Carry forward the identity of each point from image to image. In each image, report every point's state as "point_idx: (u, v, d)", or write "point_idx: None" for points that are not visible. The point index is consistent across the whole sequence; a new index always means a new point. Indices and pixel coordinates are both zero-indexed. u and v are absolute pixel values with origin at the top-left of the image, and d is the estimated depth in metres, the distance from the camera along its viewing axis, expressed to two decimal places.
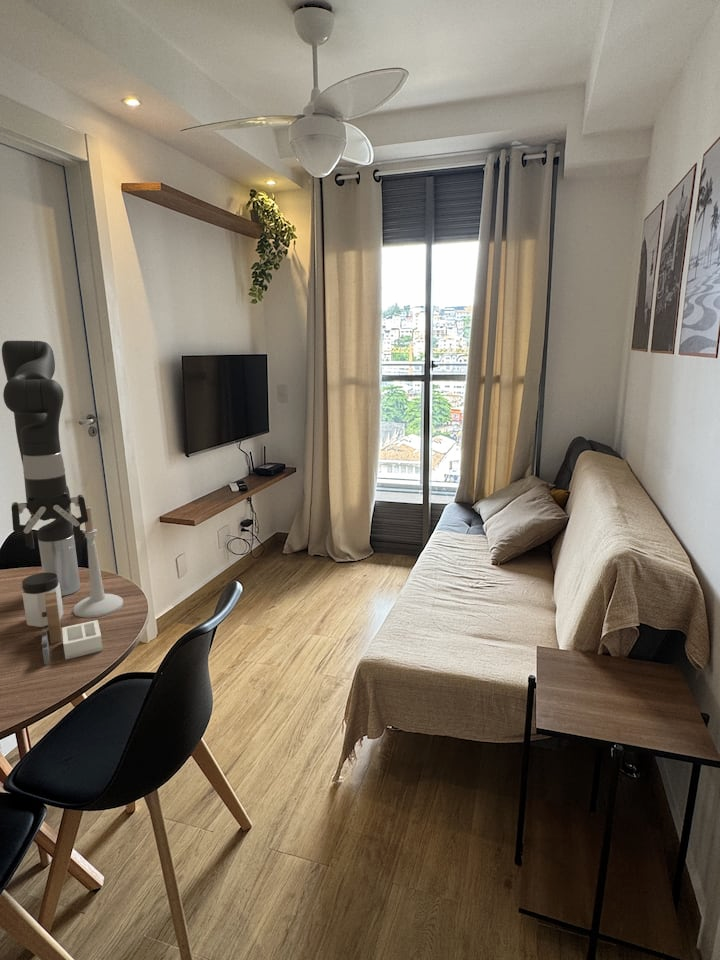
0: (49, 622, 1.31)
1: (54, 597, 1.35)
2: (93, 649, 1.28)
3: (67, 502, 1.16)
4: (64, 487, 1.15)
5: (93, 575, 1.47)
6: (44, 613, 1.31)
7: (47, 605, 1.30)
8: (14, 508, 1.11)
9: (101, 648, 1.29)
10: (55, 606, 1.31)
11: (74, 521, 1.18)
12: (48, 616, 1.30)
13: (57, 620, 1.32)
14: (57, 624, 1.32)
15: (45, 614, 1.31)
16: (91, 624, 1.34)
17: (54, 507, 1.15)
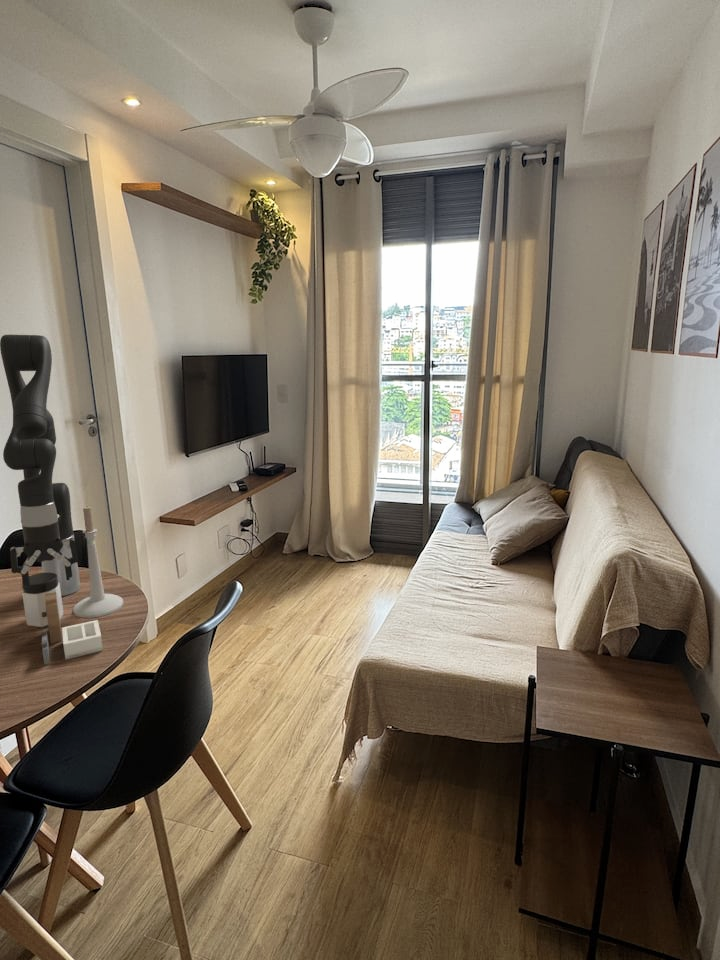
0: (49, 622, 1.31)
1: (54, 597, 1.35)
2: (93, 649, 1.28)
3: (59, 545, 1.31)
4: (57, 532, 1.30)
5: (93, 575, 1.47)
6: (44, 613, 1.31)
7: (47, 605, 1.30)
8: (12, 553, 1.26)
9: (101, 648, 1.29)
10: (55, 606, 1.31)
11: (66, 562, 1.32)
12: (48, 616, 1.30)
13: (57, 620, 1.32)
14: (57, 624, 1.32)
15: (45, 614, 1.31)
16: (91, 624, 1.34)
17: (48, 550, 1.29)
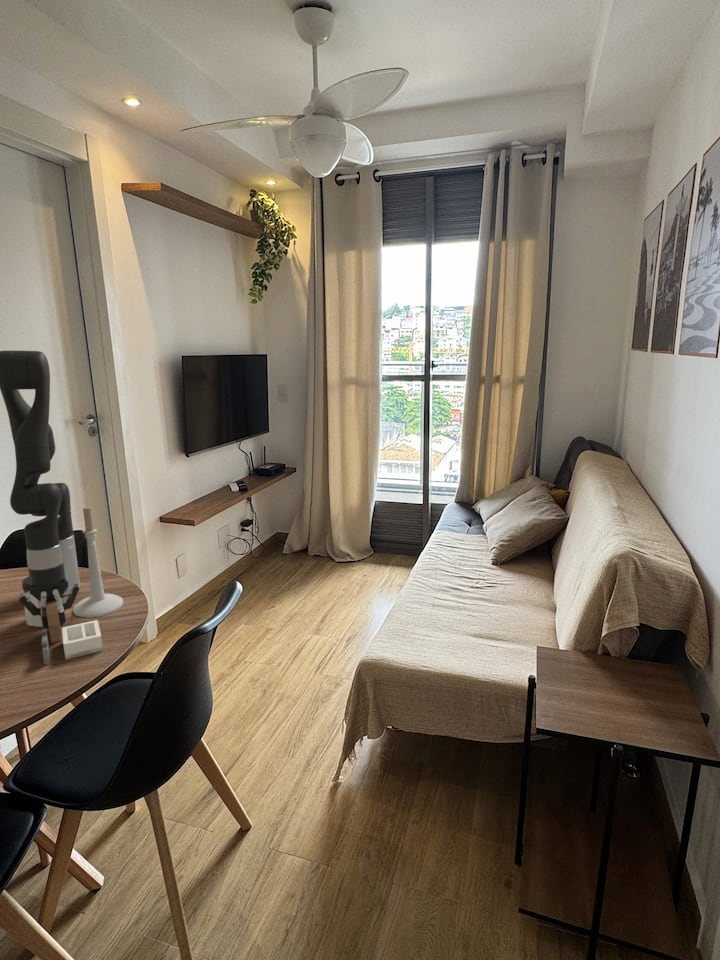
0: (49, 622, 1.31)
1: None
2: (93, 649, 1.28)
3: (64, 587, 1.34)
4: (62, 574, 1.32)
5: (93, 575, 1.47)
6: (44, 613, 1.31)
7: (47, 605, 1.30)
8: (22, 600, 1.29)
9: (101, 648, 1.29)
10: (55, 606, 1.31)
11: (59, 608, 1.34)
12: (48, 616, 1.30)
13: (57, 620, 1.32)
14: (57, 624, 1.32)
15: (45, 614, 1.31)
16: (91, 624, 1.34)
17: (54, 591, 1.32)
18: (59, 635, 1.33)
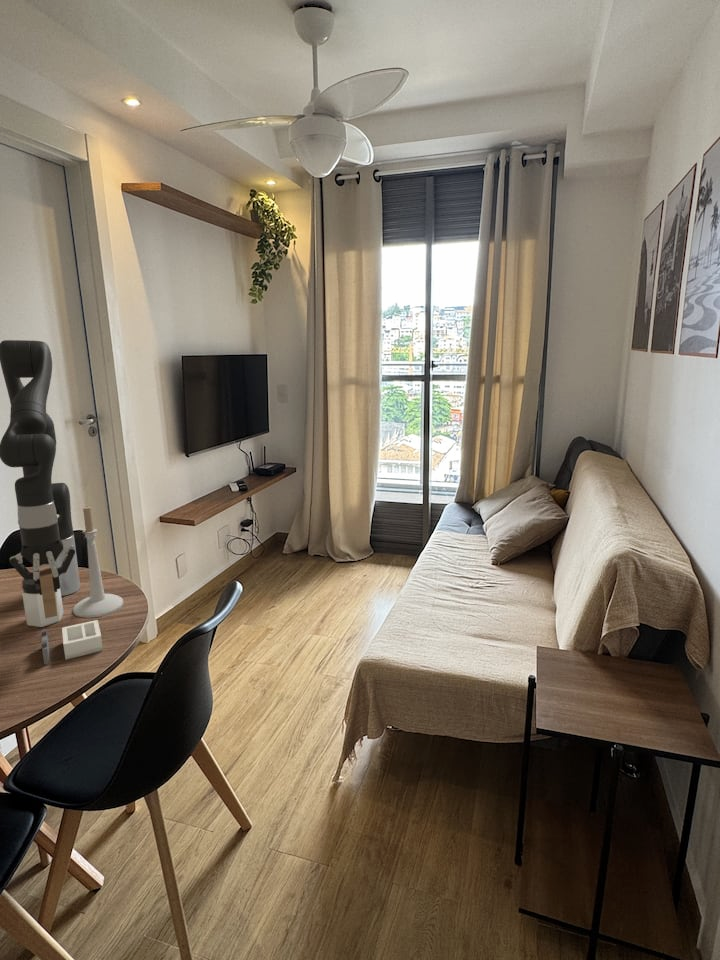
0: (43, 595, 1.20)
1: (49, 568, 1.24)
2: (93, 649, 1.28)
3: (59, 549, 1.23)
4: (57, 534, 1.21)
5: (93, 575, 1.47)
6: (38, 585, 1.20)
7: (41, 576, 1.20)
8: (12, 563, 1.18)
9: (101, 648, 1.29)
10: (50, 577, 1.20)
11: (53, 572, 1.23)
12: (42, 588, 1.20)
13: (52, 593, 1.21)
14: (52, 597, 1.21)
15: (39, 586, 1.20)
16: (91, 624, 1.34)
17: (47, 552, 1.21)
18: (54, 610, 1.22)
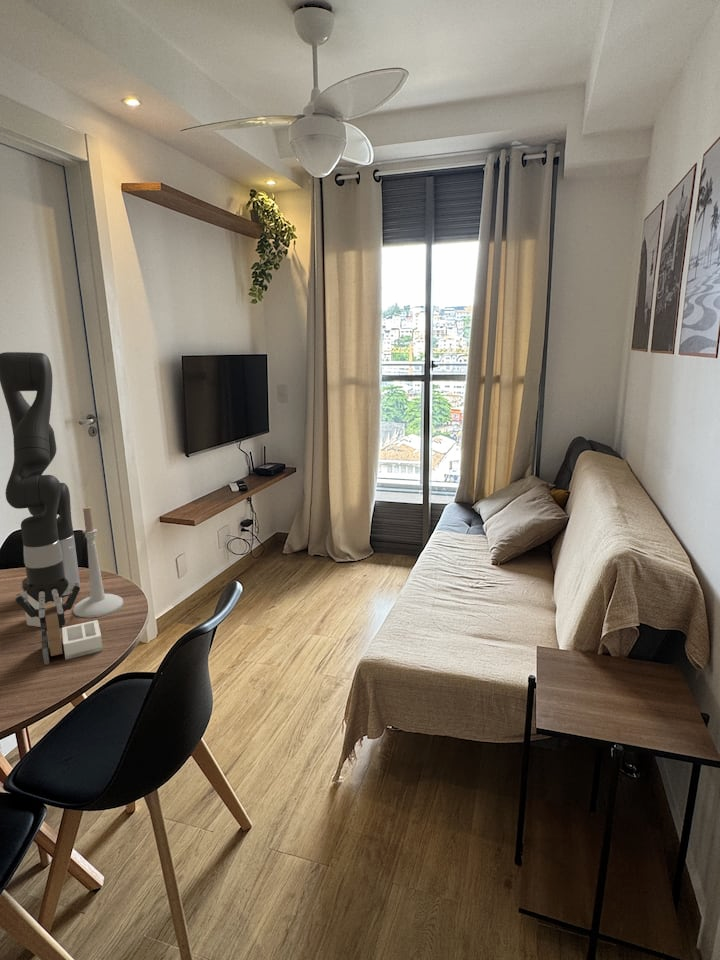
0: (49, 633, 1.23)
1: (54, 606, 1.26)
2: (93, 649, 1.28)
3: (64, 586, 1.25)
4: (62, 572, 1.23)
5: (93, 575, 1.47)
6: (44, 624, 1.22)
7: (47, 615, 1.22)
8: (18, 601, 1.20)
9: (101, 648, 1.29)
10: (55, 616, 1.22)
11: (58, 609, 1.25)
12: (48, 627, 1.22)
13: (57, 631, 1.23)
14: (57, 635, 1.24)
15: (45, 625, 1.22)
16: (91, 624, 1.34)
17: (53, 590, 1.23)
18: (60, 647, 1.24)
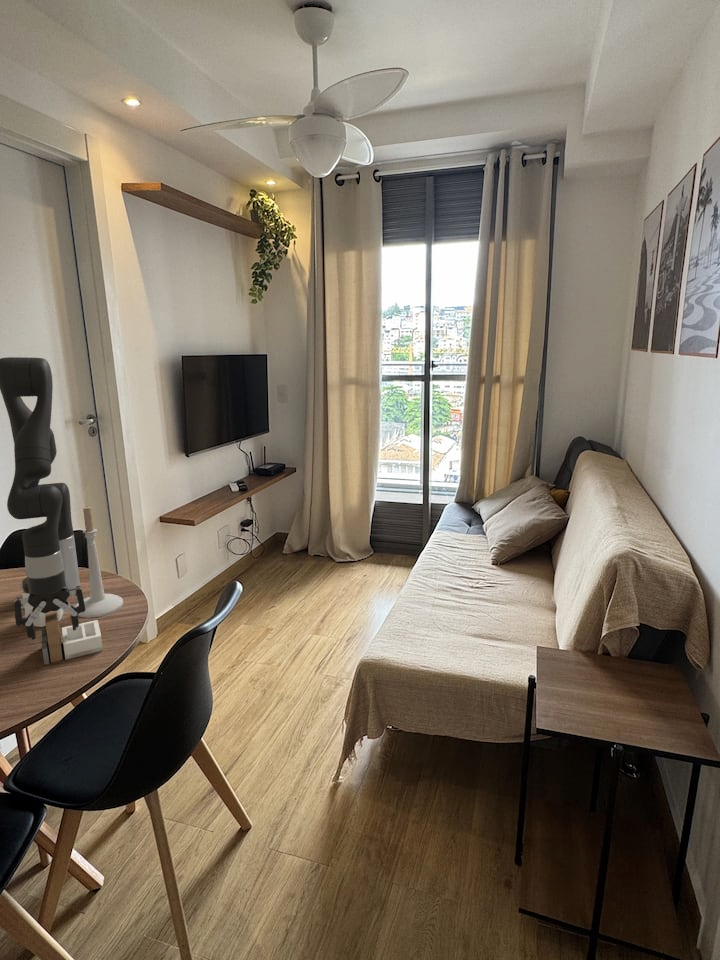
0: (49, 640, 1.23)
1: (54, 613, 1.27)
2: (93, 649, 1.28)
3: (66, 595, 1.25)
4: (63, 582, 1.24)
5: (93, 575, 1.47)
6: (44, 630, 1.23)
7: (47, 622, 1.22)
8: (16, 605, 1.20)
9: (101, 648, 1.29)
10: (55, 623, 1.23)
11: (72, 612, 1.27)
12: (48, 634, 1.22)
13: (58, 638, 1.24)
14: (58, 642, 1.24)
15: (45, 631, 1.23)
16: (91, 624, 1.34)
17: (54, 601, 1.24)
18: (60, 654, 1.25)
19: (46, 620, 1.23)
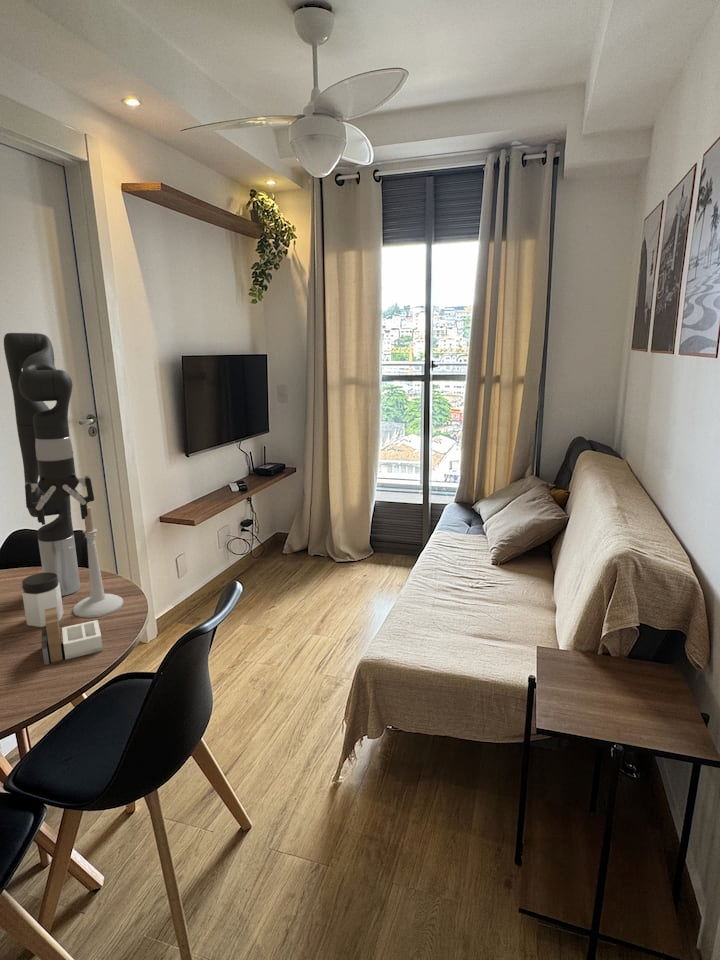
0: (49, 640, 1.23)
1: (54, 613, 1.27)
2: (93, 649, 1.28)
3: (75, 482, 1.28)
4: (72, 468, 1.26)
5: (93, 575, 1.47)
6: (44, 630, 1.23)
7: (47, 622, 1.22)
8: (27, 487, 1.23)
9: (101, 648, 1.29)
10: (56, 623, 1.23)
11: (81, 500, 1.29)
12: (48, 634, 1.22)
13: (58, 638, 1.24)
14: (58, 642, 1.24)
15: (45, 631, 1.23)
16: (91, 624, 1.34)
17: (63, 486, 1.26)
18: (60, 654, 1.25)
19: (46, 620, 1.23)
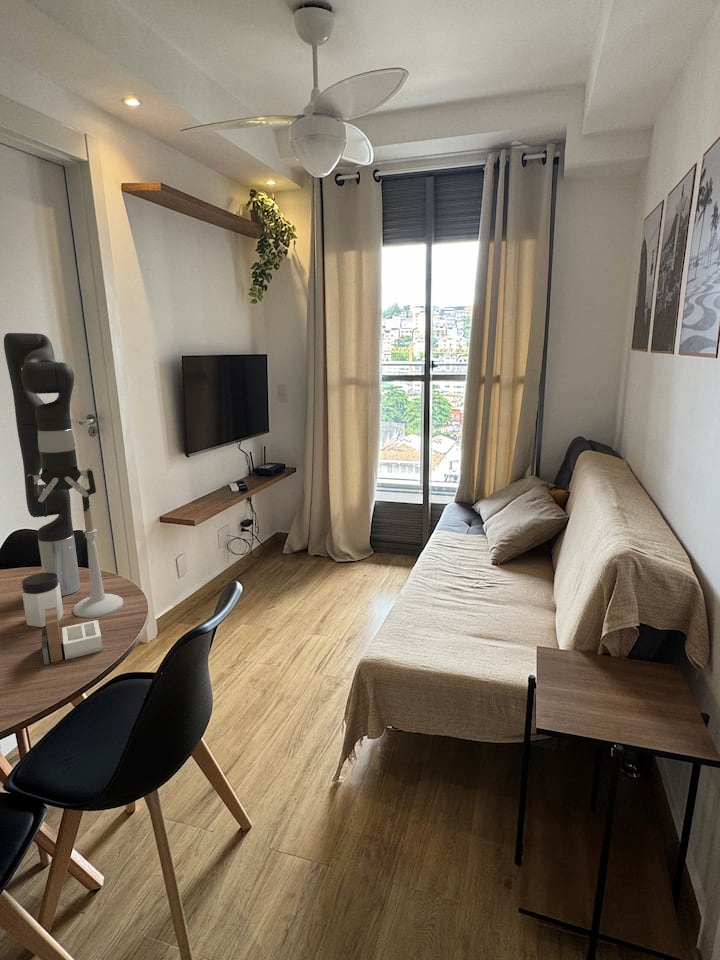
0: (49, 640, 1.23)
1: (54, 613, 1.27)
2: (93, 649, 1.28)
3: (77, 474, 1.29)
4: (75, 460, 1.27)
5: (93, 575, 1.47)
6: (44, 630, 1.23)
7: (47, 622, 1.22)
8: (29, 479, 1.23)
9: (101, 648, 1.29)
10: (56, 623, 1.23)
11: (83, 492, 1.30)
12: (48, 634, 1.22)
13: (58, 638, 1.24)
14: (58, 642, 1.24)
15: (45, 631, 1.23)
16: (91, 624, 1.34)
17: (65, 478, 1.27)
18: (60, 654, 1.25)
19: (46, 620, 1.23)
